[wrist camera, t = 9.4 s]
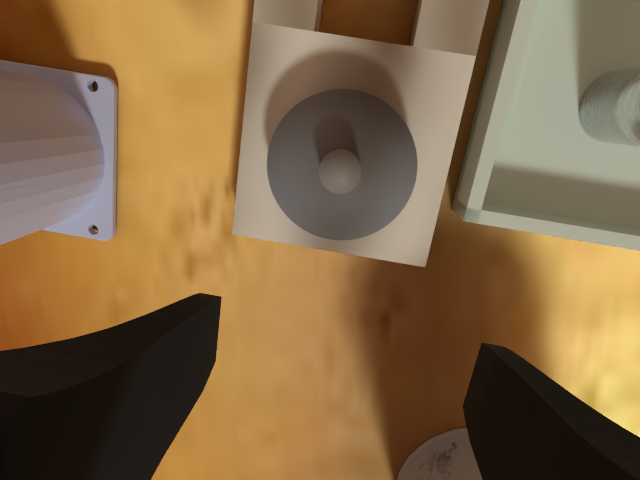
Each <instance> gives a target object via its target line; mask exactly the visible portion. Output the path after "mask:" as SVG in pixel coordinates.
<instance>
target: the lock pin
mask: <svg viewBox="0 0 640 480" xmlns="http://www.w3.org/2000/svg"><path fill="white" fill-rule="evenodd" d="M578 116H579V121H580V124H581V127H582V129H583V130H584V131H585V133H586V134H587V135H588V136H590V137H591V138H592V139H594V140H597V141H599V142H604V143H612V144H619V145H627V146H635V147H640V66H637V67H630V68H624V69H618V70H613V71H610V72H607V73H605V74H603V75H601V76H599V77H598V78H597V79H595V80H594V81H593V82H592V83H591V84H590V85H589V86H588V88H587V89H586V90H585V92H584V94H583V96H582V98H581V101H580V104H579V110H578Z"/></svg>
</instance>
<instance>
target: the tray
mask: <svg viewBox="0 0 640 480" xmlns="http://www.w3.org/2000/svg"><path fill="white" fill-rule="evenodd" d="M637 66H640V0H503V3H502V7H501V11H500V15H499V19H498V23H497V27H496V31H495V35H494V39H493V43H492V47H491V51H490V55H489V59H488V63H487V67H486V71H485V75H484V79H483V83H482V87H481V91H480V95H479V99H478V103H477V107H476V111H475V115H474V119H473V123H472V127H471V131H470V135H469V139H468V143H467V147H466V152H465V156H464V160H463V164H462V168H461V172H460V176H459V180H458V184H457V188H456V192H455V196H454V200H453V204H452V208H451V209H452V210H453V211H454V212H455V213H456V214H457V215H458V216H459V217H460V218H461V219H462V220H463V221H465V222H471V223H477V224H483V225H489V226H495V227H501V228H507V229H513V230H519V231H525V232H531V233H537V234H543V235H549V236H555V237H561V238H567V239H573V240H579V241H585V242H591V243H597V244H602V245H608V246H614V247H620V248H626V249H632V250H638V251H640V147H635V146H627V145H619V144H612V143H604V142H599V141H597V140H594V139H592V138H591V137H590V136H588V135H587V134H586V133H585V131H584V130H583V129H582V127H581V124H580V121H579V116H578V110H579V104H580V101H581V98H582V96H583V94H584V92H585V90H586V89H587V88H588V86H589V85H590V84H591V83H592V82H593V81H594V80H595V79H597V78H598V77H599V76H601V75H603V74H605V73H607V72H610V71H613V70H618V69H624V68H630V67H637Z"/></svg>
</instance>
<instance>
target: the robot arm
mask: <svg viewBox="0 0 640 480" xmlns="http://www.w3.org/2000/svg"><path fill="white" fill-rule="evenodd" d="M94 81H96V82H97V84H98V90H97V91H96V92H95V91H94V90H93V87H92V84H93V82H94ZM117 101H118V89H117V85H116V83H115V81H114V80H113V79H111V78H109V77H105V76H99V75H92V74H86V73H80V72H74V71H67V70H61V69H55V68H49V67H42V66H36V65H30V64H24V63H17V62H11V61H5V60H0V245H1V244H4V243H7V242H9V241H12V240H15V239H17V238H20V237H23V236H25V235H28V234H31V233H33V232H36V231H39V230H46V231H51V232H57V233H63V234H69V235H74V236H80V237H86V238H91V239H97V240H103V241H106V240H109V239H111V238H113V237H114V236H115V233H116V184H117ZM93 225H95V226H96V227H97V228H98V233H97V232H95V231H94V230H93ZM220 307H221V297H220V296H214V295H208V294H203V293H198V294H195V295H192V296H190V297H187V298H185V299H182V300H180V301H177V302H175V303H173V304H170V305H168V306H166V307H163V308H161V309H159V310H156V311H154V312H151V313H149V314H146V315H144V316H141V317H138V318H136V319H133V320H130V321H127V322H125V323H122V324H119V325H117V326H114V327H111V328H108V329H104V330H101V331H98V332H94V333H90V334H87V335H83V336H79V337H75V338H71V339H67V340H62V341H56V342H51V343H46V344H41V345H36V346H31V347H25V348H19V349H12V350H5V351H0V480H151V478H152V476H153V474H154V473H155V471H156V469H157V467H158V465H159V463H160V462H161V460H162V458H163V456H164V455H165V453H166V451H167V450H168V448H169V446H170V445H171V443H172V441H173V440H174V438H175V437H176V435H177V433H178V432H179V430H180V428H181V427H182V425H183V423H184V422H185V420H186V418H187V417H188V415H189V413H190V412H191V410H192V408H193V407H194V405H195V403H196V402H197V400H198V398H199V397H200V395H201V393H202V391H203V389H204V387H205V385H206V382H207V380H208V378H209V376H210V373H211V371H212V368H213V366H214V363H215V361H216V351H217V340H218V329H219V318H220ZM463 410H464V415H465V421H466V427H467V431H468V436H469V441H470V444H471V447H472V450H473V453H474V456H475V459H476V462H477V465H478V468H479V471H480V474H481V477H482V479H483V480H640V437H638V436H636V435H634V434H633V433H631V432H629V431H628V430H626V429H624V428H623V427H621V426H619V425H618V424H616V423H614V422H613V421H611V420H610V419H608V418H606V417H605V416H603V415H602V414H600V413H599V412H597V411H596V410H594V409H593V408H591V407H590V406H588V405H587V404H585V403H584V402H582V401H581V400H580V399H578V398H577V397H575V396H574V395H573V394H571V393H570V392H568V391H567V390H565V389H564V388H563V387H561V386H560V385H559V384H557V383H556V382H554V381H553V380H552V379H550V378H549V377H548V376H546V375H545V374H544V373H542V372H541V371H540V370H538V369H537V368H535V367H534V366H533V365H531V364H530V363H529V362H527V361H526V360H524V359H523V358H522V357H520V356H519V355H517V354H516V353H514V352H513V351H511V350H509V349H508V348H506V347H503V346H497V345H491V344H486V343H482V344H481V347H480V350H479V354H478V357H477V360H476V364H475V367H474V371H473V374H472V377H471V381H470V384H469V387H468V391H467V394H466V397H465V401H464V404H463Z"/></svg>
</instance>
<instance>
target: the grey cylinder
mask: <svg viewBox="0 0 640 480" xmlns="http://www.w3.org/2000/svg"><path fill="white" fill-rule="evenodd" d="M397 480H483V479H482V477H481V474H480V471H479V468H478V465H477V462H476V459H475V456H474V453H473V450H472V447H471V444H470V441H469V436H468V431H467V427H465V428H458V429H453V430H450V431H447V432H444V433H442V434H439V435H436V436H434V437H433V438H431V439H429V440H428V441H426V442H424V443H423V444H421V445H420V446H419V447H418V448H417V449H416V450H414V451H413V452H412V453H411V454H410V455H409V456H408V458H407V459H406V461H405V463H404V464H403V466H402V467H401V469H400V471H399V475H398V478H397Z"/></svg>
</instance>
